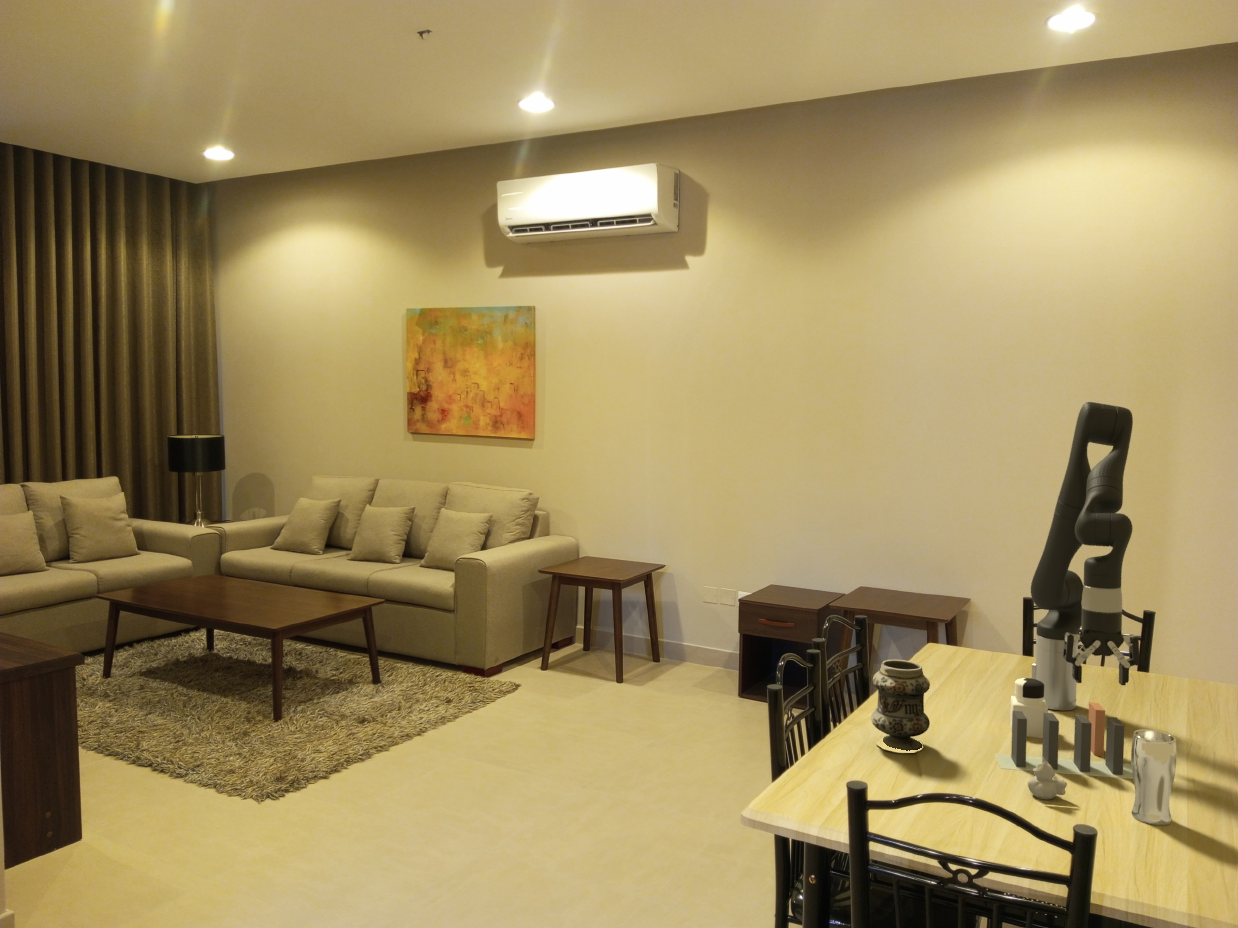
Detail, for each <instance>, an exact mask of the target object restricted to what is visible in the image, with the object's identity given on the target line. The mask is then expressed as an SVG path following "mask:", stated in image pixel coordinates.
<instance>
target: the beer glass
mask: <svg viewBox="0 0 1238 928" xmlns="http://www.w3.org/2000/svg"><path fill="white" fill-rule="evenodd" d="M1176 738H1177V737H1175V736H1174V735H1172V734H1169V733H1168V732H1163V731H1161V730H1155V729H1143V728H1142V729H1137V730H1134V731H1133V735H1132V743H1131V754H1130V761H1131V762H1130V764H1131V765H1132V773H1133V779H1132V780H1133V784H1134V785H1133V786H1134V802H1133V807H1132V810H1131V814H1132V817H1133V818H1135V819H1136V820H1137V821H1139V822H1142V823H1145V824H1148V825H1153V826H1167V825H1170V824H1171V822H1172V815H1171V810H1170V798H1171V793H1172V789H1173V784H1174V782H1173V781H1174V780H1175V777H1176V772H1177V771H1176V770H1177V742H1176V741H1177V740H1176Z"/></svg>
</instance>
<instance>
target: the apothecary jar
mask: <svg viewBox="0 0 1238 928" xmlns="http://www.w3.org/2000/svg"><path fill="white" fill-rule="evenodd" d="M880 665H881V666H880V669H879V670H878V671H877V672H876V673H874V675H873V677H872V683H873V684H872V685H873V686H874V688H876V689H877V691H878V692H877V697H878V698H877V708H875V709H874V710H873V712H872V713H871V715H870V716H871V719H870V720H871V723H872V725H873V726H874V727H875V729H877V730H878V731H880V732H882V733H884V734H886V736H883V737H884V738H883V742H884V743H885V744H886V745H887V746H889V747H892V748H895V749H896V748H897V749H901V750H906V751H908V750H909V751H910V750H918V749H920V748H922V744H923V743H922V742H921V741H919V740H918V741H917V739H916V738H914V737H919V736H921V735H923V734H924V733H926V732H927V731H928V729H930V724H931V723H930V719H929V718H930V717H928V715H927V714H926V713H925V708H924V707H925V706H924V703H925V702H924V700H925V699H924V698H925V694H926V693H927V692H928V691H929V689H930V688H931V687H930V686H931V682H930V680H929V678H928V677H927V676H926V675H925V674H924V671H923V667H922V665H921V664H919V663H917V662H915V661H911V660H904V659H886V660H883V661H882V662H881V664H880ZM915 739H916V740H915ZM920 742H921V743H922V744H921V743H920Z"/></svg>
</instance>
